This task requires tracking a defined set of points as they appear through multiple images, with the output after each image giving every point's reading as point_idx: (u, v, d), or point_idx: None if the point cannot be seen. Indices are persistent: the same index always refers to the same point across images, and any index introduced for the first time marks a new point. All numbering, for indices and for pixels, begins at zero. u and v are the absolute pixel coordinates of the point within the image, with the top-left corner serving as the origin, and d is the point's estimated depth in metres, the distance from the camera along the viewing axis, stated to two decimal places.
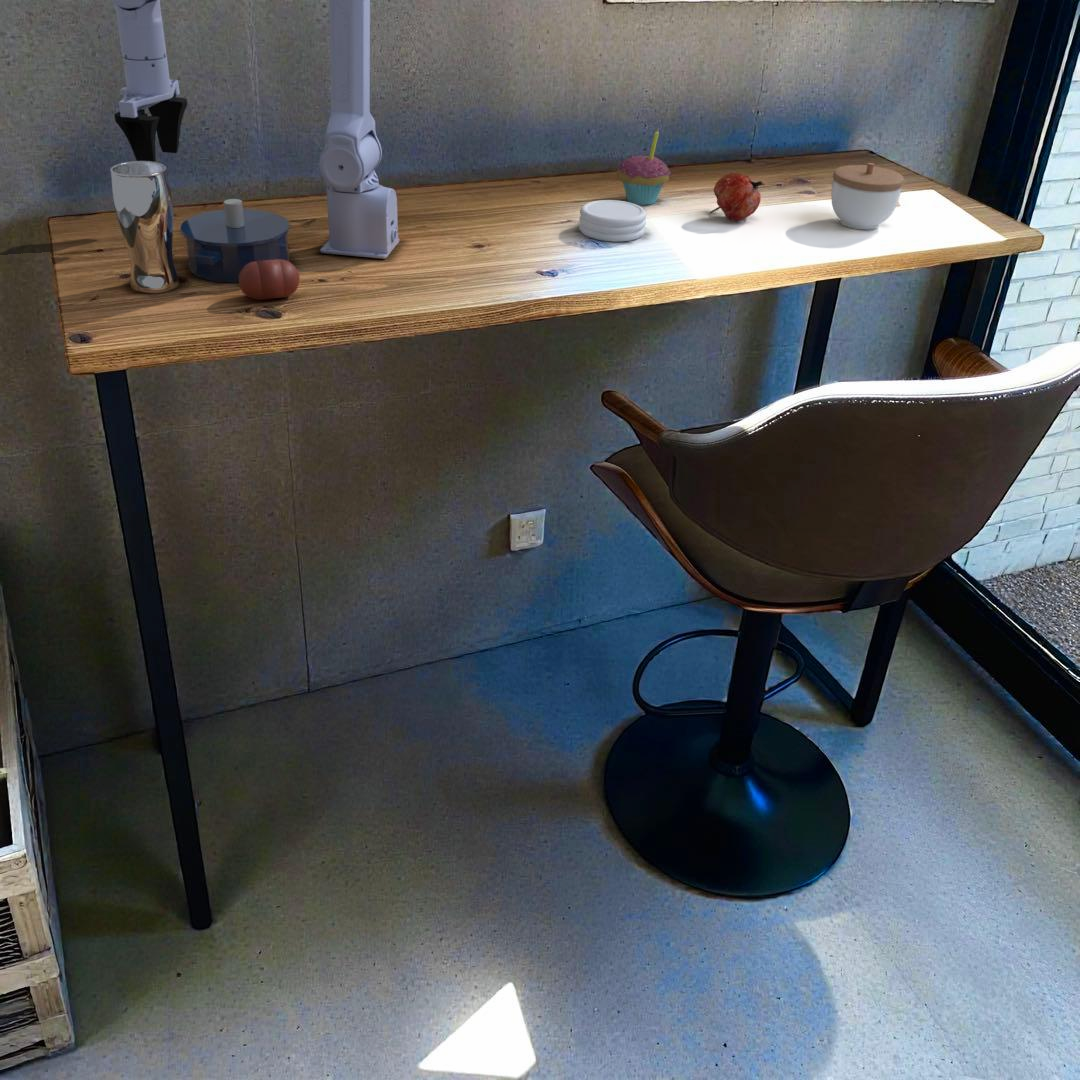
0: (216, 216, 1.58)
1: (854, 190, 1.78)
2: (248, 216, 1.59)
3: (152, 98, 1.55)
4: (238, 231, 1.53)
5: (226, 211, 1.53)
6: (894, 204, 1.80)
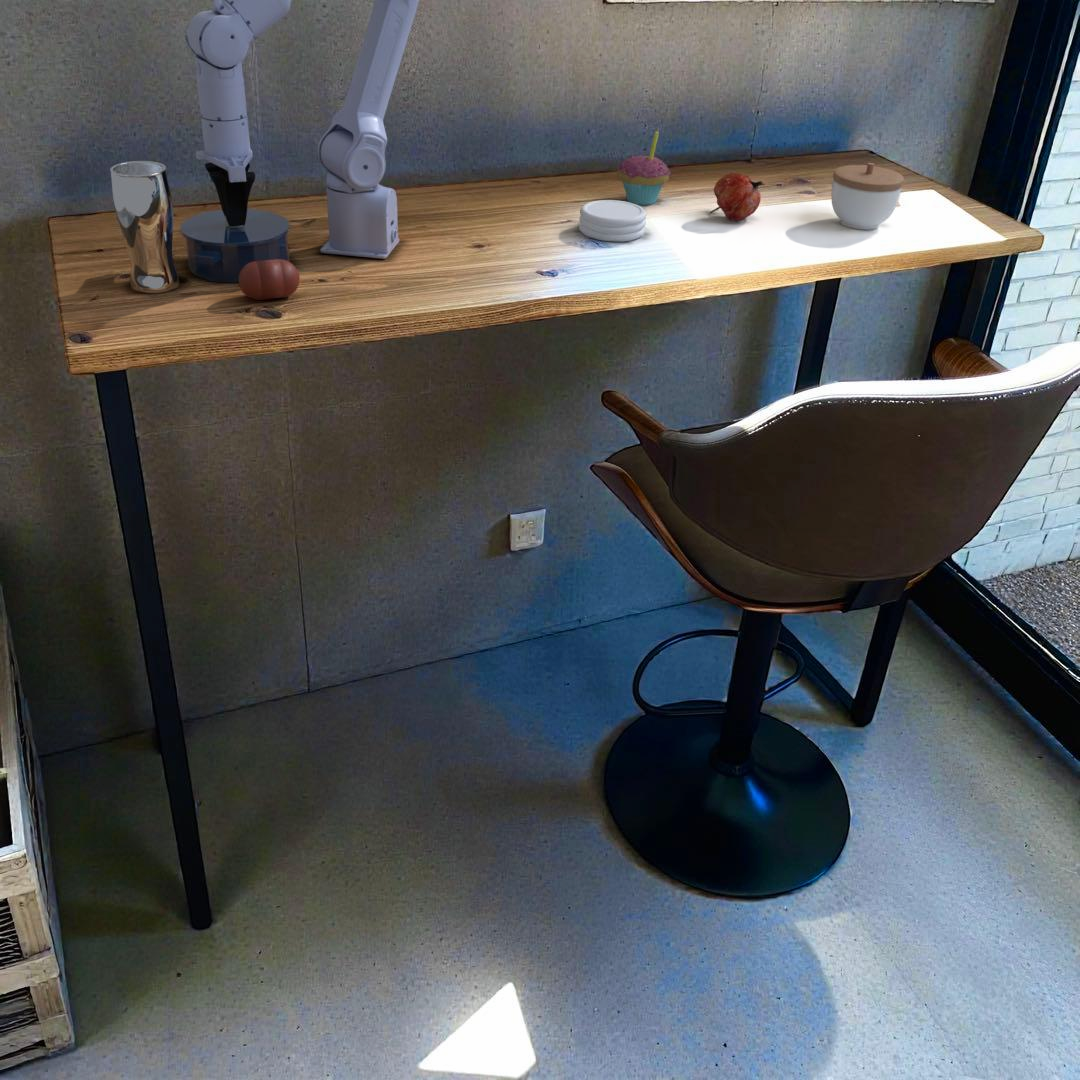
0: (216, 216, 1.58)
1: (854, 190, 1.78)
2: (248, 216, 1.59)
3: (247, 158, 1.48)
4: (238, 231, 1.53)
5: None
6: (894, 204, 1.80)
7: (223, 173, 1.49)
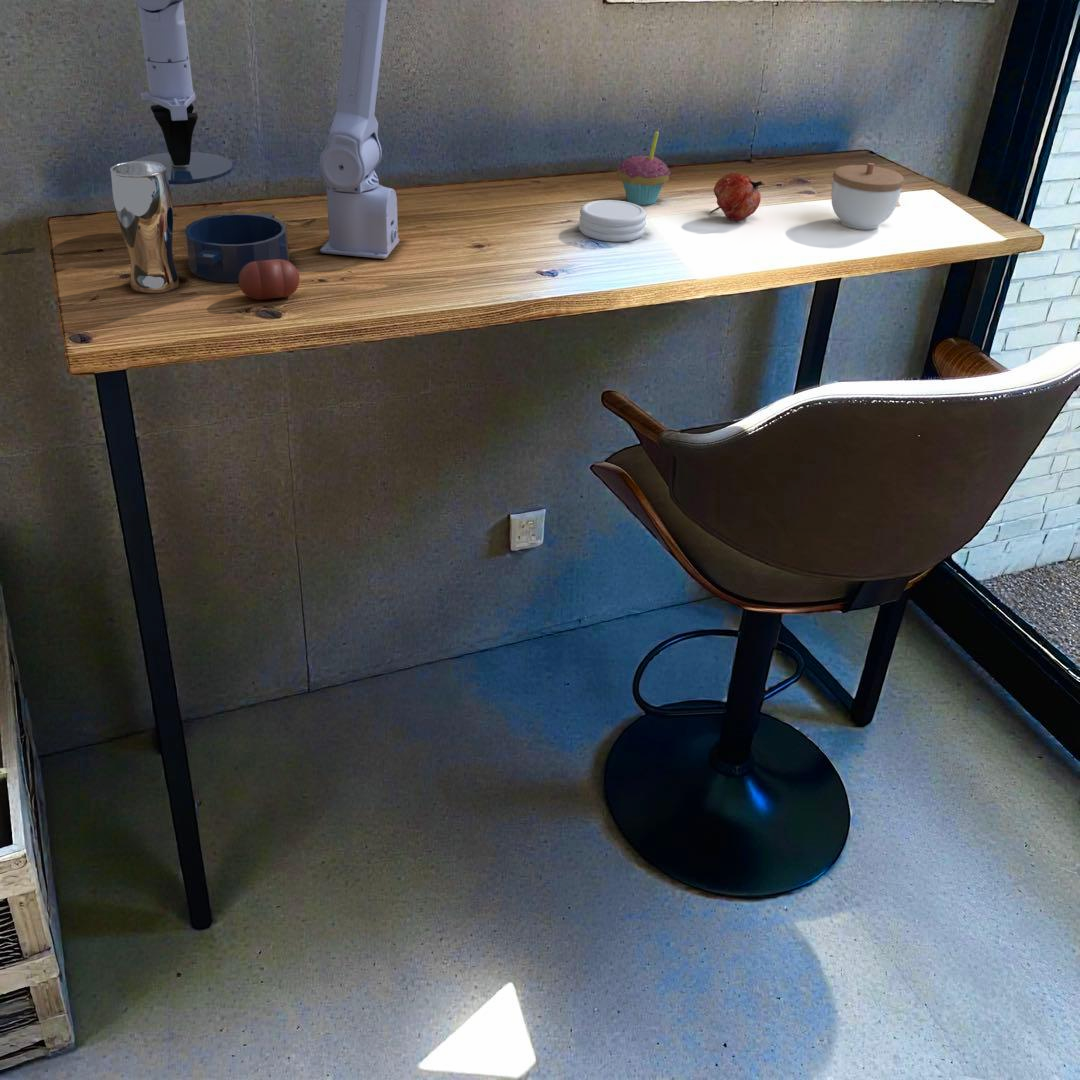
0: (163, 157, 1.66)
1: (854, 190, 1.78)
2: (193, 158, 1.67)
3: (190, 99, 1.56)
4: (182, 170, 1.61)
5: None
6: (894, 204, 1.80)
7: (167, 113, 1.57)
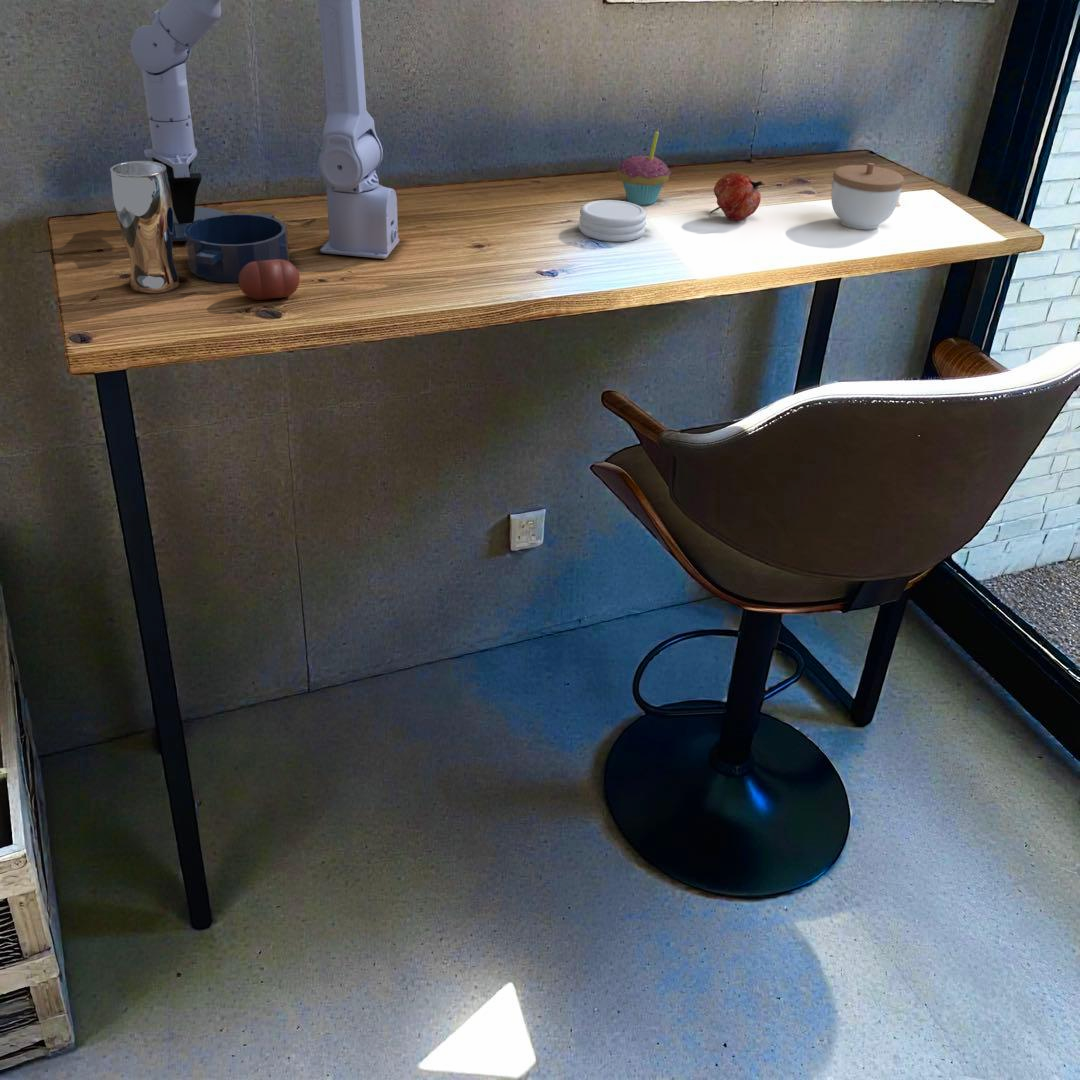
0: None
1: (854, 190, 1.78)
2: (195, 213, 1.72)
3: (191, 156, 1.61)
4: (185, 227, 1.67)
5: None
6: (894, 204, 1.80)
7: (171, 174, 1.60)
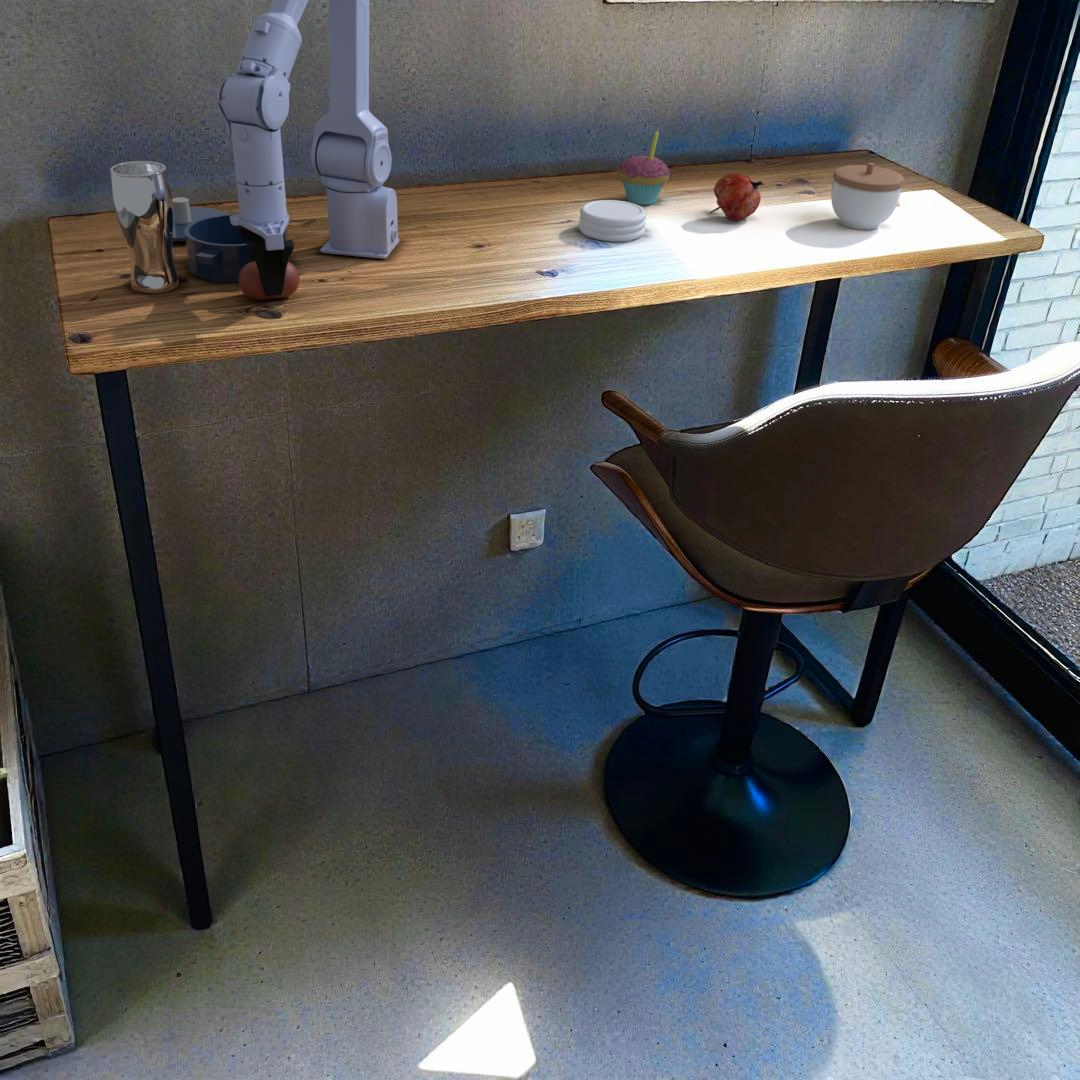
0: None
1: (854, 190, 1.78)
2: (195, 213, 1.72)
3: (285, 224, 1.41)
4: (185, 227, 1.67)
5: (173, 208, 1.67)
6: (894, 204, 1.80)
7: (260, 242, 1.41)
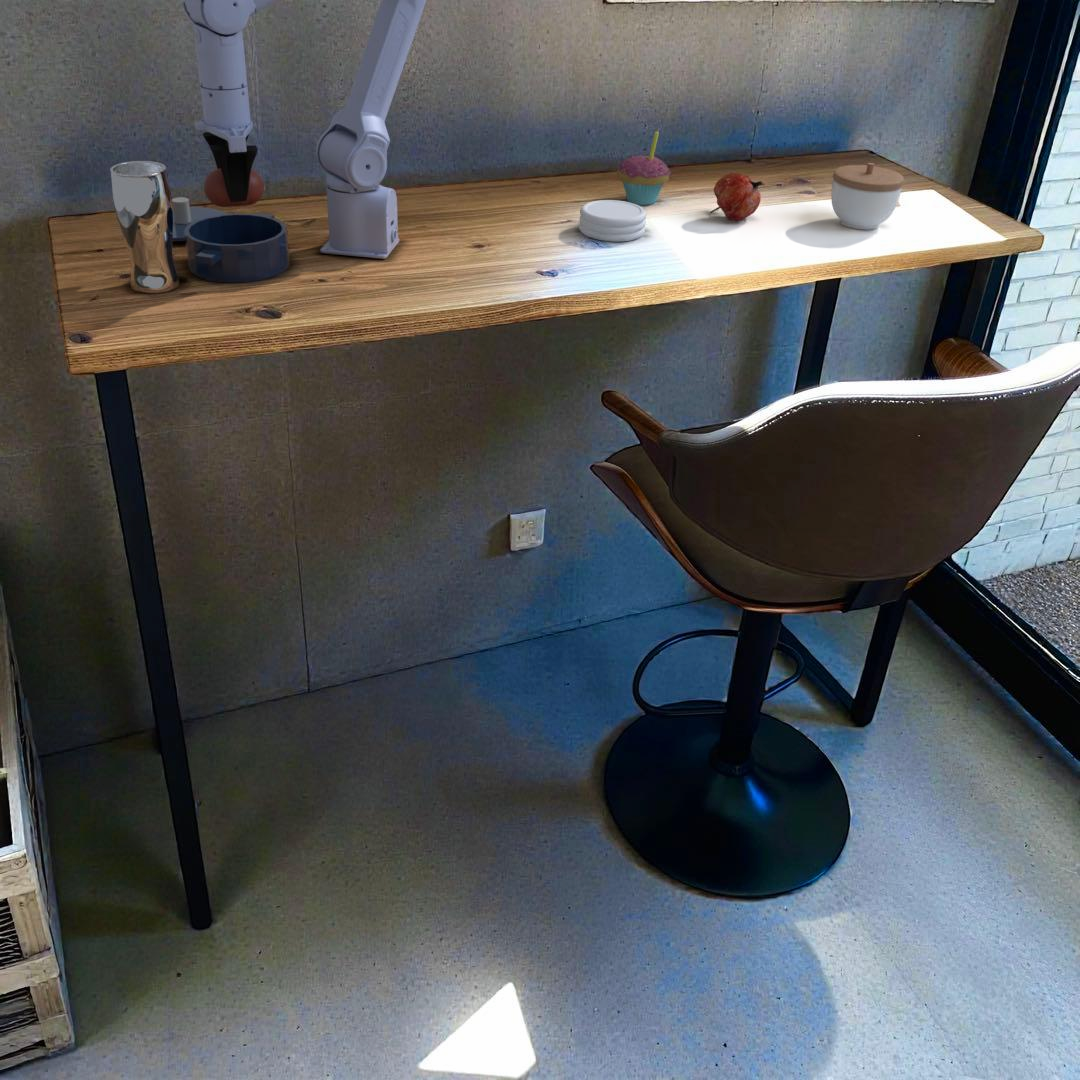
0: None
1: (854, 190, 1.78)
2: (195, 213, 1.72)
3: (248, 128, 1.45)
4: (185, 227, 1.67)
5: (173, 208, 1.67)
6: (894, 204, 1.80)
7: (224, 146, 1.45)
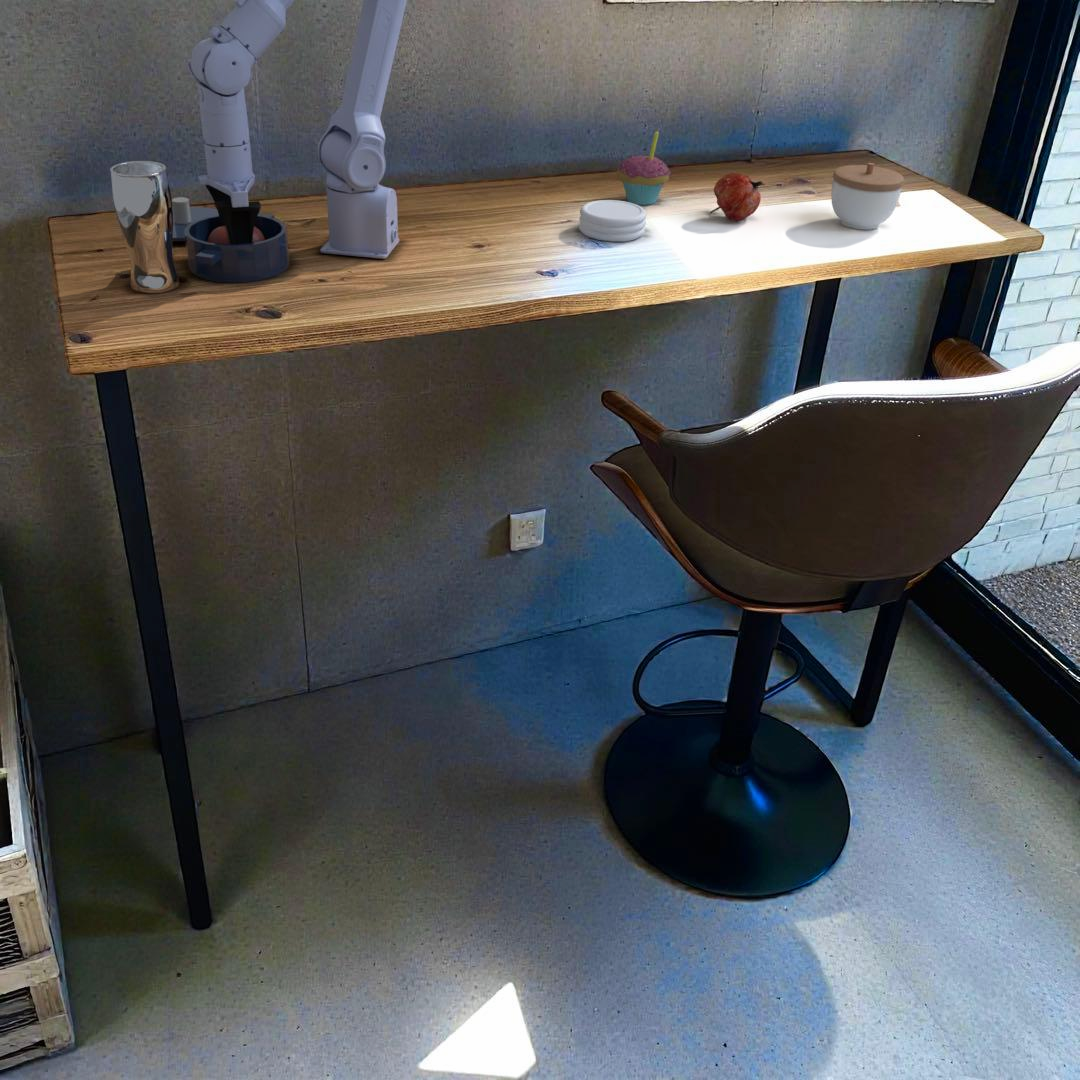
0: None
1: (854, 190, 1.78)
2: (195, 213, 1.72)
3: (250, 183, 1.50)
4: (185, 227, 1.67)
5: (173, 208, 1.67)
6: (894, 204, 1.80)
7: (228, 203, 1.49)
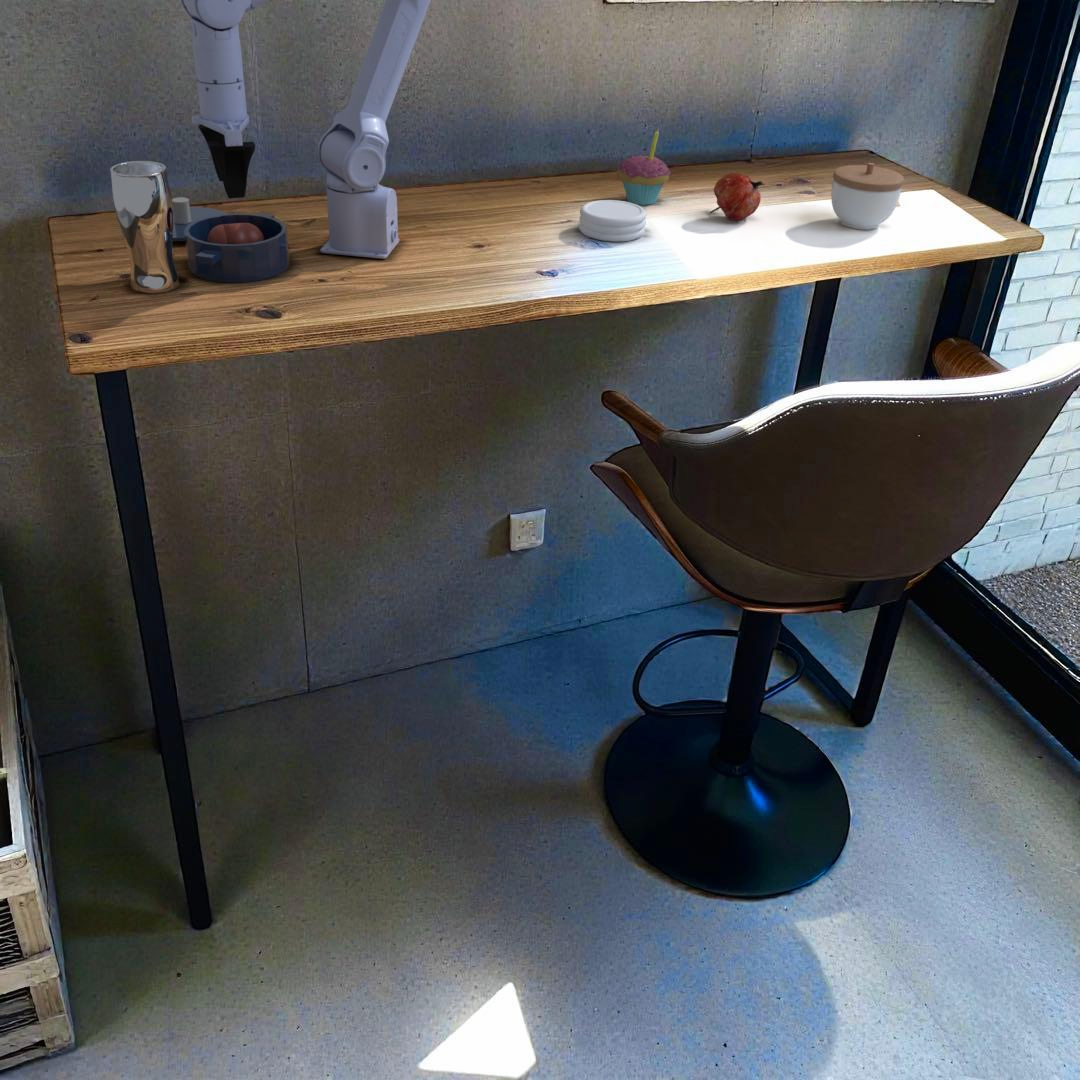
0: None
1: (854, 190, 1.78)
2: (195, 213, 1.72)
3: (244, 123, 1.46)
4: (185, 227, 1.67)
5: (173, 208, 1.67)
6: (894, 204, 1.80)
7: (222, 143, 1.45)
